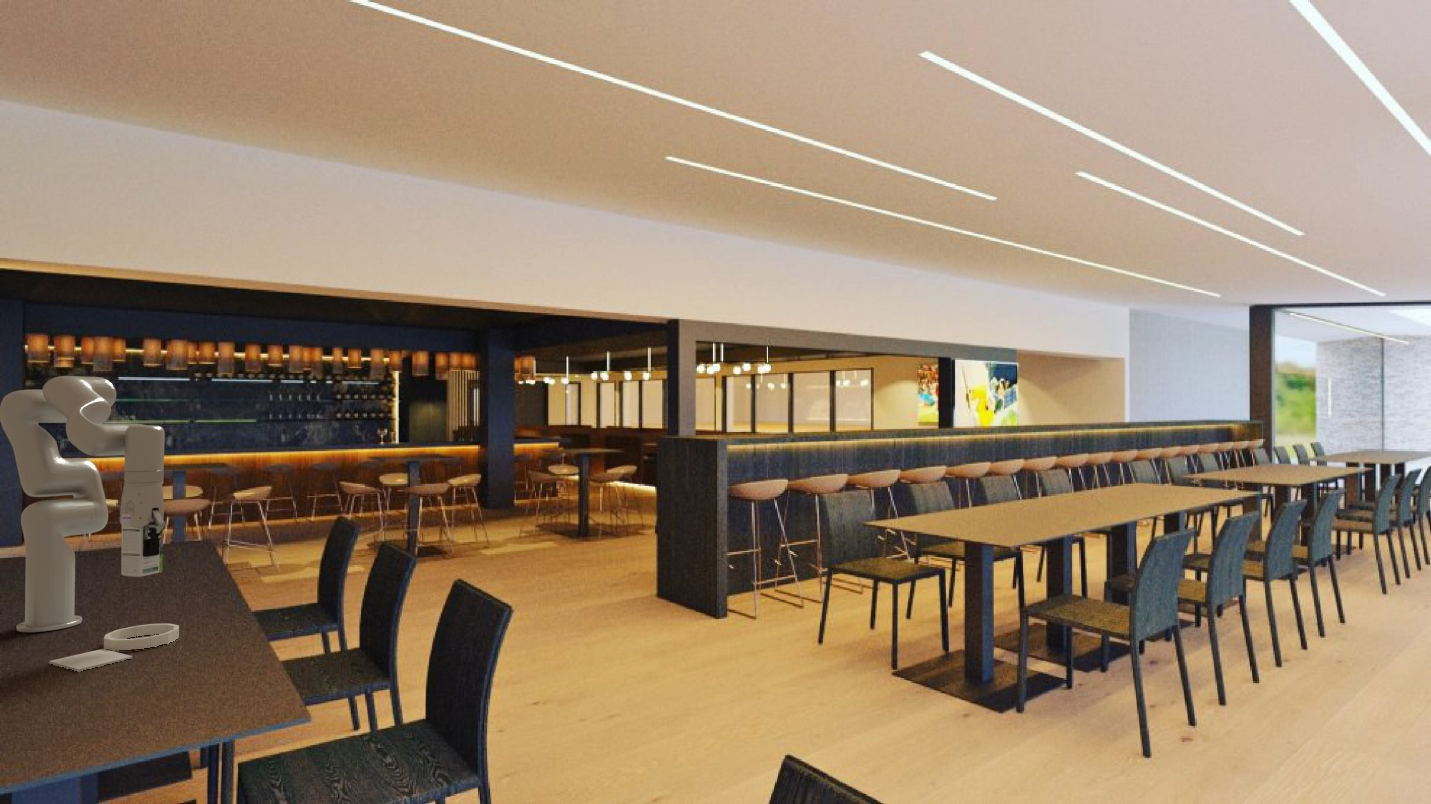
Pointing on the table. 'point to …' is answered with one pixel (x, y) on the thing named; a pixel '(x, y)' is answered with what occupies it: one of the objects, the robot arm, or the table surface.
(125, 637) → the ring dish
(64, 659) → the mat
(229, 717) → the table surface
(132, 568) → the syrup box
